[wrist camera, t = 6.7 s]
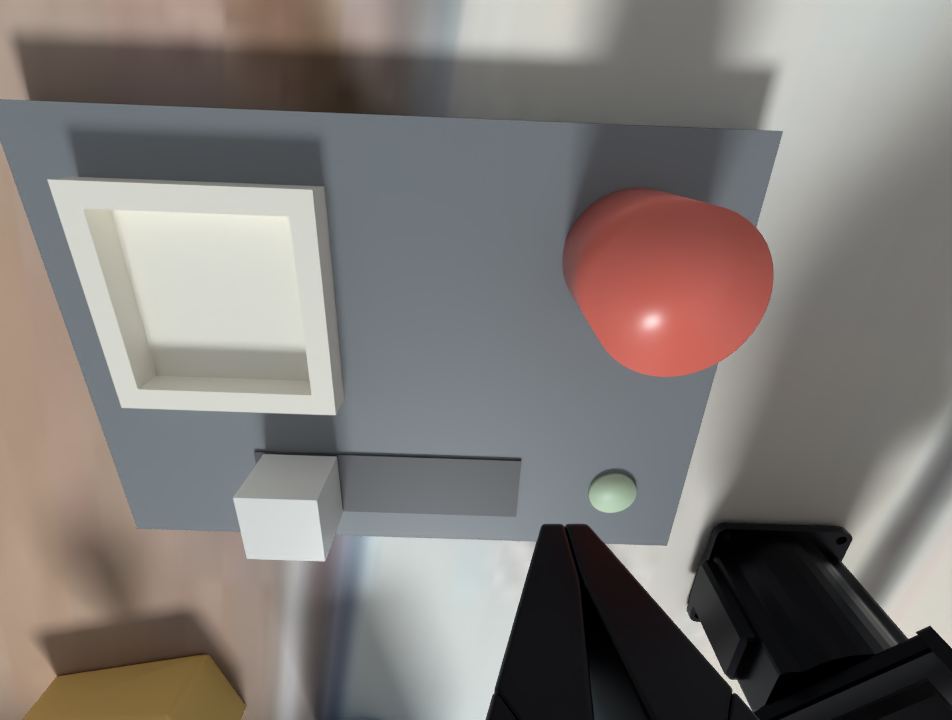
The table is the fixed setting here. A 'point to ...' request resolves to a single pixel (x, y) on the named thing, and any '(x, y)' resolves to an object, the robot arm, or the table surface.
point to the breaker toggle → (290, 507)
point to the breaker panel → (365, 309)
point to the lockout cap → (667, 279)
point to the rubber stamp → (143, 693)
